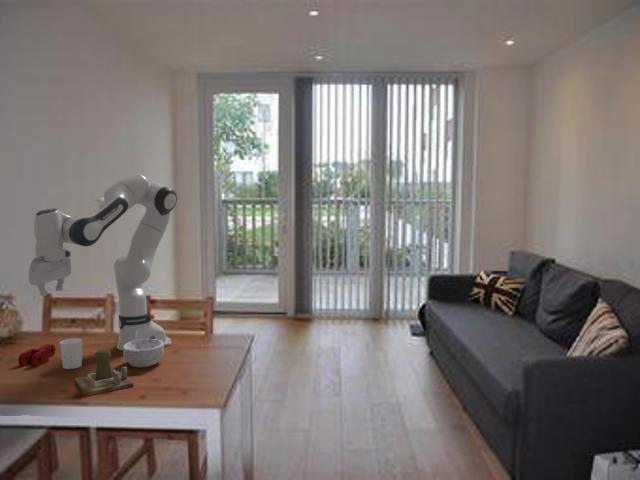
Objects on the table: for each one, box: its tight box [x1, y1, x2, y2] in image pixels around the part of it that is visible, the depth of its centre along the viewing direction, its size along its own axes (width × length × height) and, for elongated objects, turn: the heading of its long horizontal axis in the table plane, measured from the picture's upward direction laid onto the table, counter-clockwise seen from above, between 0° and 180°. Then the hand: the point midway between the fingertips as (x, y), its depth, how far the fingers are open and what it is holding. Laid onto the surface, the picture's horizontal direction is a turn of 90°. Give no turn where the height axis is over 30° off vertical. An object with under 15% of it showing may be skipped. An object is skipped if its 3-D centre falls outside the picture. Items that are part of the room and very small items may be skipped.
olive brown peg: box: [94, 348, 113, 381], centre depth 195 cm, size 6×6×11 cm
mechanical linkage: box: [17, 343, 56, 367], centre depth 221 cm, size 16×7×5 cm, turn 171°
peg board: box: [75, 366, 135, 397], centre depth 196 cm, size 16×16×5 cm
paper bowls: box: [122, 339, 165, 368], centre depth 217 cm, size 15×15×8 cm
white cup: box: [59, 337, 83, 370], centre depth 214 cm, size 8×8×10 cm
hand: (51, 293), depth 199 cm, fingers open, 8 cm apart
